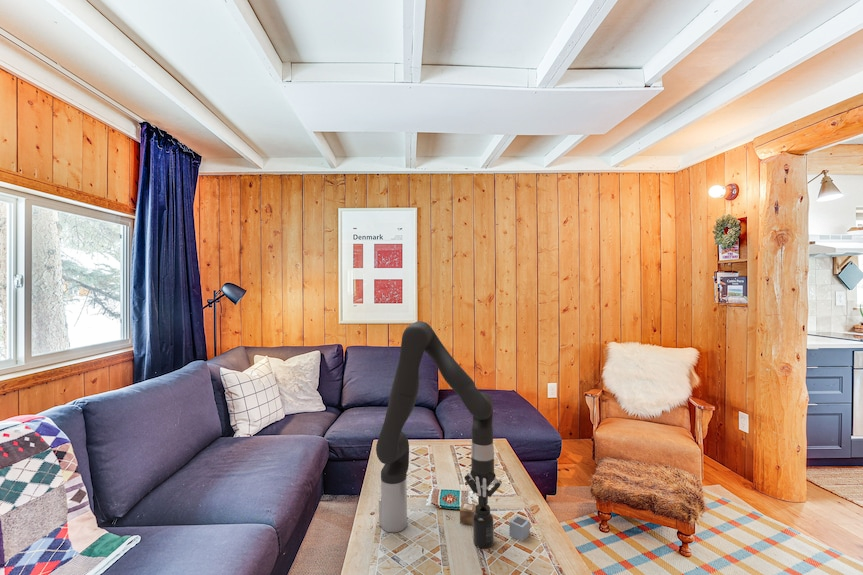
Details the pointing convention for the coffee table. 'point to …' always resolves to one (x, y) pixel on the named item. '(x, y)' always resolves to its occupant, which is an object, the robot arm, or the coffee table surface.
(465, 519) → the walnut block
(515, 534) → the slate-blue block
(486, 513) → the supplement bottle
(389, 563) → the coffee table surface
